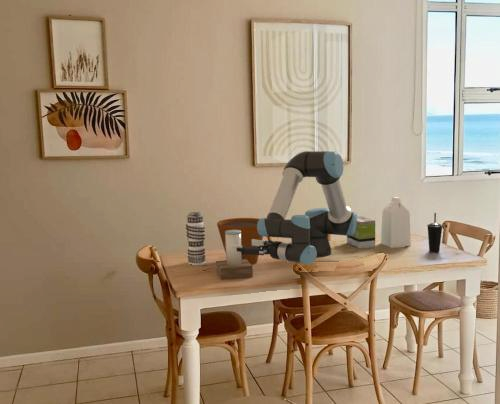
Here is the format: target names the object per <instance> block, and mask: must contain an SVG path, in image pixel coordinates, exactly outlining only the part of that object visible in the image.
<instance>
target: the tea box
mask: <svg viewBox="0 0 500 404" xmlns="http://www.w3.org/2000/svg"><path fill="white" fill-rule="evenodd" d="M346 243H347V244H349V245H351V246H354V247H355V248H357V249H368V248H370V249H371V248H376V220H374V219H371V218H369V217H366V216H362V215H360V216H357V224H356V230H355V233H354V234H353V235H347V236H346Z"/></svg>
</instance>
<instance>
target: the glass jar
mask: <svg viewBox="0 0 500 404" xmlns="http://www.w3.org/2000/svg"><path fill="white" fill-rule="evenodd" d="M225 239H226V253H225V260H226V264H227V265H232V266H234V265H240V264H242V254H241V252H235V251H232V245H239V246H241V230H227V231H225Z"/></svg>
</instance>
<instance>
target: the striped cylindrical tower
mask: <svg viewBox="0 0 500 404" xmlns="http://www.w3.org/2000/svg"><path fill="white" fill-rule="evenodd" d="M186 218H187V221H186V224H185V230H186V237H187V238H186V239H187V242H188V245H187V248H188V249H187V255H188V256H187V261H188V263H189V264H188V265H190V264H192V265H191V266H200V265H201V264H202V265H205V264H206V255H205V254H206V251H205V250H206V248H205V243H204V242H205V239H206V238H205V236H206V234H204V233H205V232H206V231H205V230H204V229H206V228H205V226H204V215H203V214H202V212H201V211H200V212H199V211H193V212H192V211H191V212H189V213H188V214H187V215H186ZM204 263H205V264H204Z"/></svg>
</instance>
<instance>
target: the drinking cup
mask: <svg viewBox="0 0 500 404" xmlns="http://www.w3.org/2000/svg"><path fill="white" fill-rule="evenodd" d="M436 215H437V213H436V212H434V215H433V216H434V220H433V221H434V222H431V223H429V224H427V225H426V226H427V237H428V251H429V253H434V254H436V253H440V247H441V242H442V241H441V238H442V233H443V227H444V225H443V224H441V223H438V222H437V218H436V217H437V216H436Z"/></svg>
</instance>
